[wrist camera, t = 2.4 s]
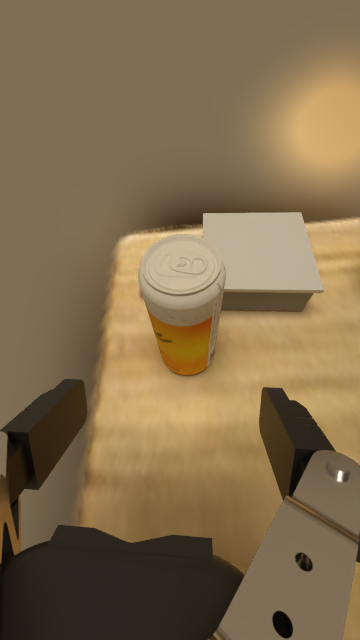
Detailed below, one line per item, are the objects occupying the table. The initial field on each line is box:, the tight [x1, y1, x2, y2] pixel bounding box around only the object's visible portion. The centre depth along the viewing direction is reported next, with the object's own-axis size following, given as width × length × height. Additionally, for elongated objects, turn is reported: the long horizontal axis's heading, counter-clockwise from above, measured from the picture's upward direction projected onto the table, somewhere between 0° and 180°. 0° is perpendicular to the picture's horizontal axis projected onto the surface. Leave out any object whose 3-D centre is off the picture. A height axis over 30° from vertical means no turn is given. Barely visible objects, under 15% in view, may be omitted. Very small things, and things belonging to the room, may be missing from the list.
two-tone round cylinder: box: [138, 234, 226, 375], centre depth 23 cm, size 6×6×15 cm
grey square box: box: [203, 212, 324, 311], centre depth 32 cm, size 13×13×5 cm
